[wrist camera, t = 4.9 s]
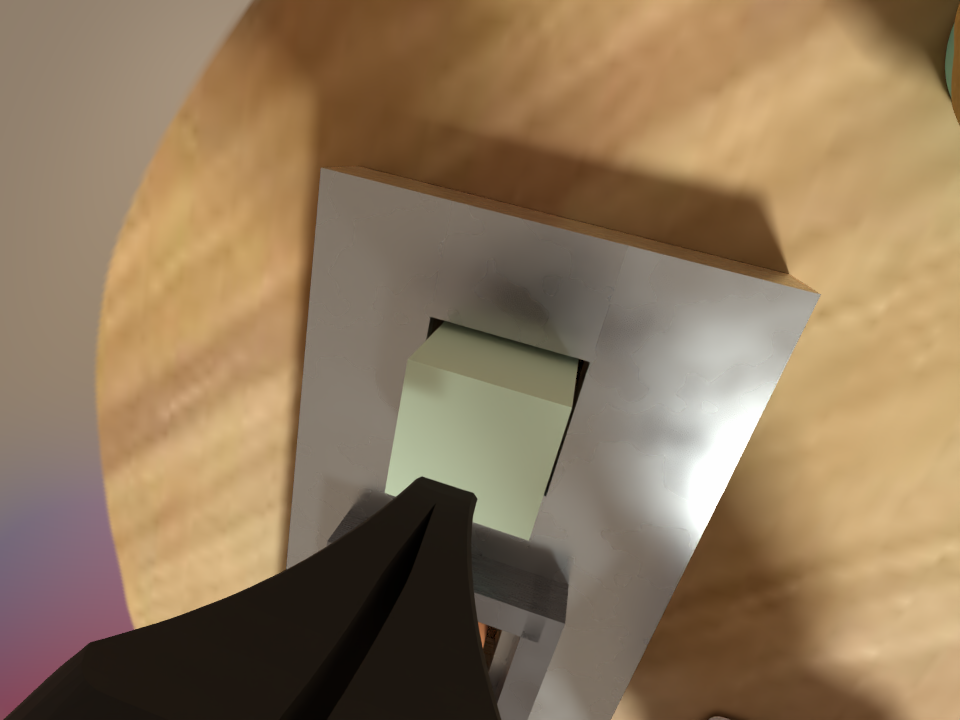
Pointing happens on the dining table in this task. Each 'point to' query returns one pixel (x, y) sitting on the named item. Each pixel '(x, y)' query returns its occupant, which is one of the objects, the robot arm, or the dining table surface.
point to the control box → (592, 421)
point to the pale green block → (483, 422)
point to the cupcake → (954, 65)
